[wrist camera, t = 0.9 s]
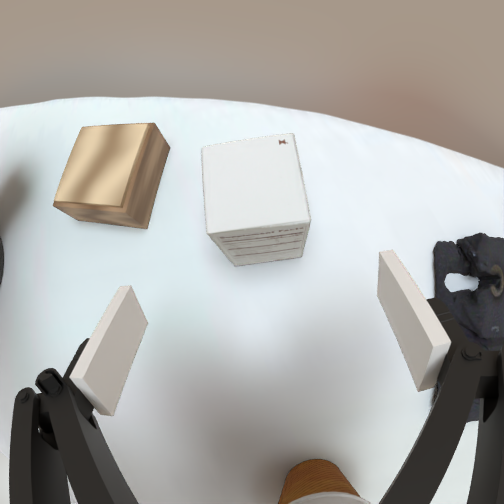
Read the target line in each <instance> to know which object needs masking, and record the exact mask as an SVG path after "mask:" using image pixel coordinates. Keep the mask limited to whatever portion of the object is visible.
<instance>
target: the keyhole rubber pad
mask: <svg viewBox="0 0 504 504" xmlns="http://www.w3.org/2000/svg"><path fill="white" fill-rule="evenodd" d="M458 246H459V247H458ZM434 253H435V268H436V289H437V293H436V297H437V298H438V299H439V300H441V301H442V302H444V303H445V304H446V306H447V307H448V309H449V310H450V313H452V315H453V317H454V319H455V320H456V321H457V323H458V324H459V326H460V328H461V329H462V331H463V332H464V334H465V336H466V337H467V339H468V341H469V342H474V343H476V344H478V345H479V346H480V347H481V348H482V349H483V350H484V351H499V350H501V348H502V346H503V345H504V238H500V237H497V238H494V237H489V236H487V235H486V234H485V233H484V234H483V233H478V234H475V235H473V236H469V237H465V238H464V239H458V240H457V245H456V244H454V242H453V241H449V242H446V241H443V242H441V241H438V242H437V245H436V247H435V249H434ZM448 273H460V274H462V275H463V276H467V275H468V274H469V273H470V275H471V276H474V277H478V278H479V280H480V281H478V282H479V285H478V289H476V290H475V291H473V292H472V291H471V290H469V289H466V290H460V291H456V292H450V291H449V290H448V289H447V288H446V286H445V283H444V280H445V278H446V275H447V274H448ZM440 387H441V385H440V383H439V381H438V392H439V390H440ZM479 410H480V399H474V401H473V404H472V407H471V410H470V413H469V416H468V419H467V422H470V421H478V420H479ZM467 422H466V423H467Z"/></svg>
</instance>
